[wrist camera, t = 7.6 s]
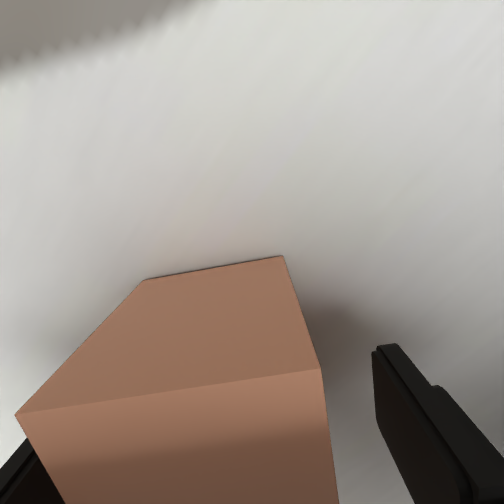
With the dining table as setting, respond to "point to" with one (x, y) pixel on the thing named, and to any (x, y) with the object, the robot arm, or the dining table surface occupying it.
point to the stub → (191, 398)
